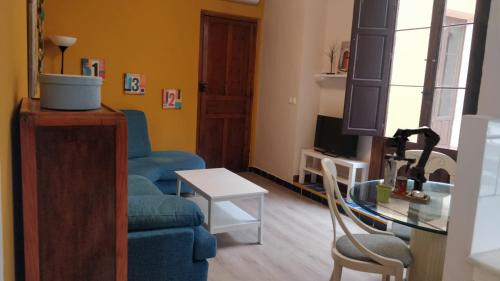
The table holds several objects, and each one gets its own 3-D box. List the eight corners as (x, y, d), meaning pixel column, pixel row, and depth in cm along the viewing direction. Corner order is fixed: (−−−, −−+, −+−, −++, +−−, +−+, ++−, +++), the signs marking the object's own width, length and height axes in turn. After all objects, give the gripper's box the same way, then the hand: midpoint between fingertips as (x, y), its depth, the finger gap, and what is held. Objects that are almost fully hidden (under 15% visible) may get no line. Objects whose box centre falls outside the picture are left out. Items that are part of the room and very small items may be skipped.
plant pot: (390, 200, 239) (392, 186, 238) (392, 204, 230) (393, 189, 229) (374, 198, 242) (375, 184, 240) (374, 202, 233) (376, 187, 231)
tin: (413, 197, 247) (414, 190, 246) (424, 200, 244) (425, 192, 243) (410, 200, 242) (411, 192, 241) (422, 202, 238) (423, 194, 238)
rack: (392, 192, 256) (393, 188, 256) (429, 199, 244) (430, 195, 244) (387, 196, 247) (387, 192, 247) (425, 204, 235) (426, 199, 234)
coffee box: (383, 181, 286) (385, 159, 284) (392, 182, 285) (395, 160, 282) (384, 184, 277) (387, 161, 275) (394, 185, 276) (397, 162, 273)
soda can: (391, 195, 250) (393, 176, 248) (399, 194, 253) (401, 175, 251) (400, 198, 244) (402, 178, 242) (408, 197, 247) (410, 178, 245)
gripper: (382, 147, 254) (380, 171, 256) (413, 151, 244) (410, 176, 246) (387, 145, 263) (385, 168, 265) (417, 149, 253) (414, 173, 255)
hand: (398, 171), depth 258 cm, fingers open, 9 cm apart
